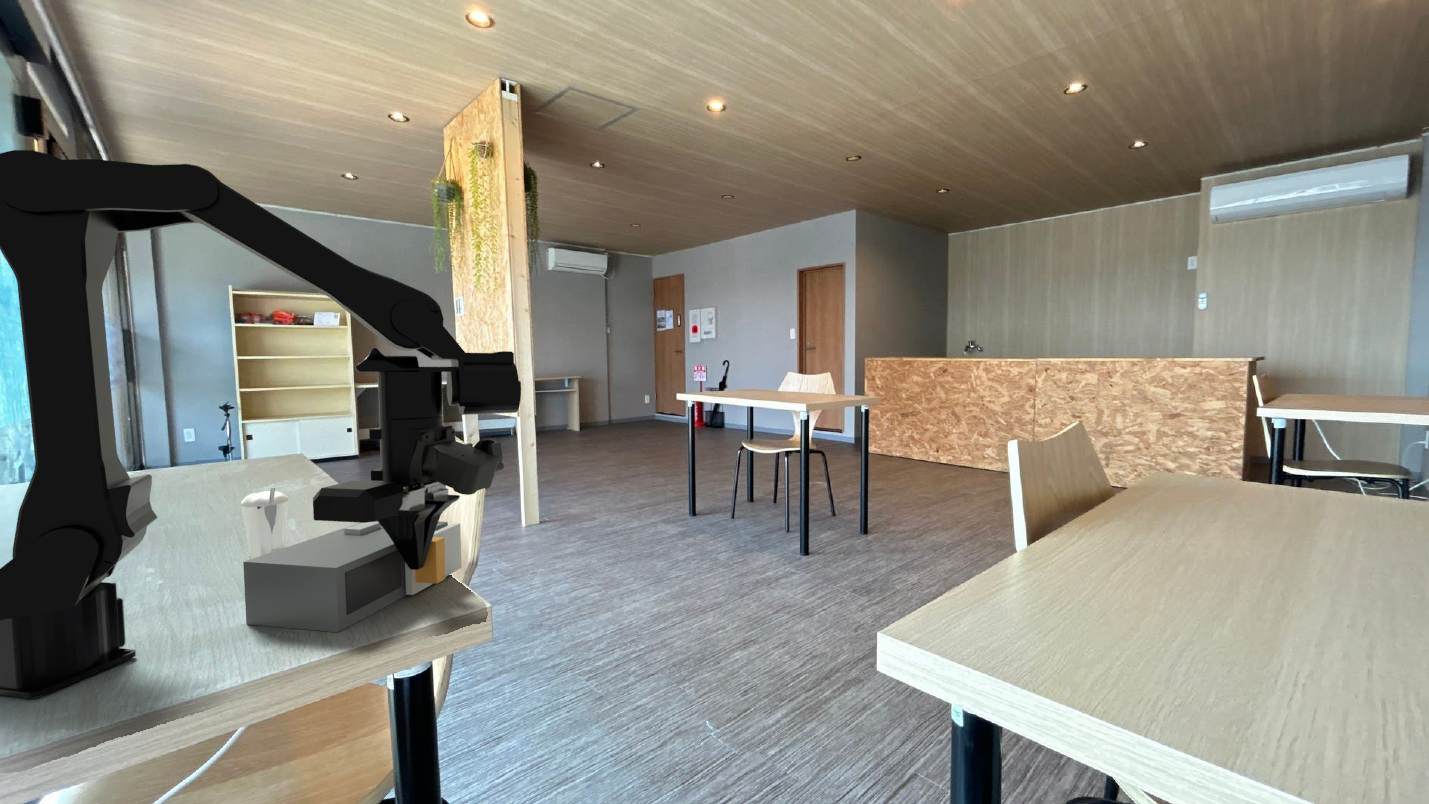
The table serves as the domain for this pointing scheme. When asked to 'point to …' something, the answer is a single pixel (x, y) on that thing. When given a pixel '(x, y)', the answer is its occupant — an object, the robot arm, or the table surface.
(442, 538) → the side door
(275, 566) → the block
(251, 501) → the milkshake
